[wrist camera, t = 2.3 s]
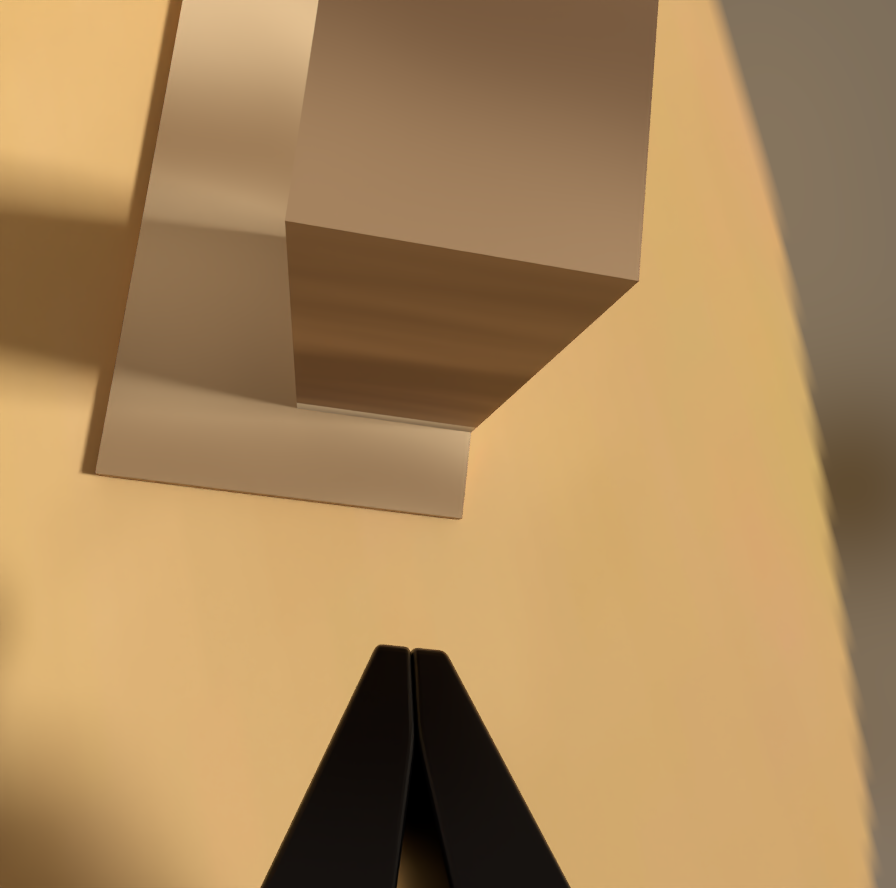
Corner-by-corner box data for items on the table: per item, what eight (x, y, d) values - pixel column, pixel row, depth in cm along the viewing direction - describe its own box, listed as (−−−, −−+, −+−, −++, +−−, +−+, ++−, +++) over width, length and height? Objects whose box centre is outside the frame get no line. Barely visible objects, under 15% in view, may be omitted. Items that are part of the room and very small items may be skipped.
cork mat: (458, 519, 19) (462, 518, 19) (99, 475, 18) (94, 473, 18) (514, -13, 22) (518, -24, 21) (202, -81, 21) (200, -94, 20)
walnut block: (470, 432, 19) (639, 280, 9) (296, 408, 19) (284, 219, 9) (488, 269, 20) (660, -27, 10) (320, 241, 19) (333, -102, 10)
